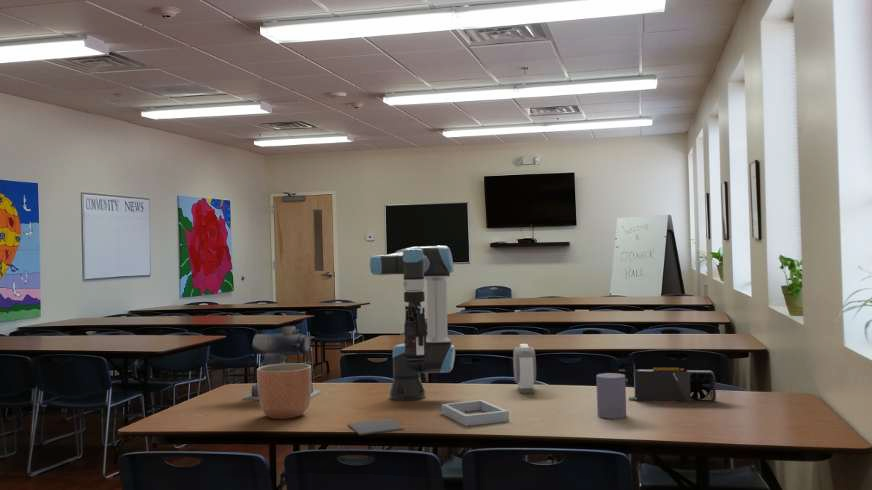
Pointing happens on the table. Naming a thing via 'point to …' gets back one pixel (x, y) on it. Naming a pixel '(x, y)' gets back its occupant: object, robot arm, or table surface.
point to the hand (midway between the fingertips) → (415, 353)
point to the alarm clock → (524, 367)
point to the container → (611, 395)
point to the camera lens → (412, 343)
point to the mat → (375, 426)
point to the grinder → (279, 351)
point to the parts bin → (490, 416)
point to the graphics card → (673, 385)
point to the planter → (284, 389)
